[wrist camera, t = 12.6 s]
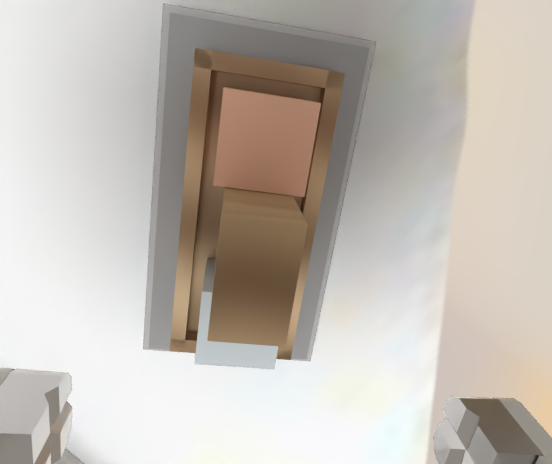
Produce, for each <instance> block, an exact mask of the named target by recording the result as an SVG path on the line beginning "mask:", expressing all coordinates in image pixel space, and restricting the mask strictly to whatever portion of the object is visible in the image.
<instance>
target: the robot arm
mask: <svg viewBox="0 0 552 464" xmlns="http://www.w3.org/2000/svg"><path fill="white" fill-rule="evenodd" d="M71 391H72V379H71V375H70V374H69V373H64V372H51V371H39V370H27V369H10V368H0V464H54V463H55V462H56V461H58V460H59V459H60V458H61V457H62V454H63V452H64V450H65V447H66V445H67V441H68V438H69V434H70V430H71V423H72V406H71V405H70V404H69V403H68V402H67V399H68V397H69V395H70V393H71ZM443 411H444V413H445V415H446V418H445V419H444V420H443V421H442V422H441V423H439V424H438V425H437V428H436V431H435V434H434V451H435V455H436V459H437V461H438V463H439V464H552V438H551V437H550V435H549V434H548V433H547V432H546V431H545V430H544V429H543V427H542V426H541V425H540V424H539V423H538V422H537V420H536V419H535V418H534V417H533V416H532V415H531V414H530V412H529V411H528V410H527V409H526V408H525V407H524V406H523V404H522V403H521V402H519V401H517V400H515V399H514V398H482V397H481V398H480V397H462V396H451V397H450V398H449V399H448V400H447V401H446V403H445V406H444V408H443Z"/></svg>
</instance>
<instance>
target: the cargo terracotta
mask: <svg viewBox="0 0 552 464" xmlns="http://www.w3.org/2000/svg"><path fill="white" fill-rule="evenodd" d="M320 107H321V103H318V102H313V101H309V100H303V99H297V98H291V97H284V96H278V95H272V94H265V93H259V92H253V91H246V90H240V89H234V88H227V87H224V88H223V97H222V106H221V116H220V125H219V134H218V144H217V153H216V163H215V172H214V182H213V186H220V187H228V188H236V189H244V190H252V191H260V192H267V193H275V194H283V195H291V196H299V197H305V191H306V186H307V180H308V174H309V169H310V163H311V157H312V152H313V146H314V140H315V135H316V129H317V123H318V118H319V112H320Z"/></svg>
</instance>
